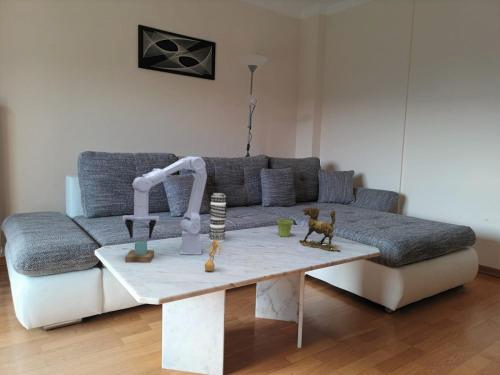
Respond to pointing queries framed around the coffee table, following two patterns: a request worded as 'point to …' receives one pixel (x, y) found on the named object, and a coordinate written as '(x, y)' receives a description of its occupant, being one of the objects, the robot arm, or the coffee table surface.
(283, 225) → the plant pot
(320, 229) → the figurine
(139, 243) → the teal block
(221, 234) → the decorative candle
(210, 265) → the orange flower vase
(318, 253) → the coffee table surface
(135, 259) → the walnut block
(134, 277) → the coffee table surface
